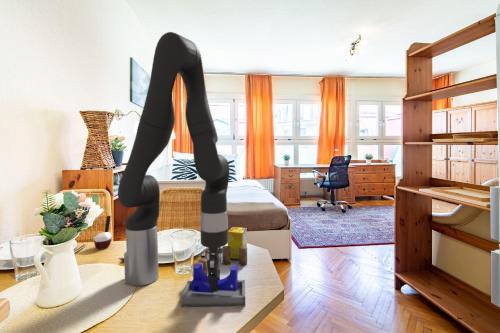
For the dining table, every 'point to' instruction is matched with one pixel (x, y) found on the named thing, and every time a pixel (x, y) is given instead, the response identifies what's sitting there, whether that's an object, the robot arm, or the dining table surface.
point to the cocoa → (103, 237)
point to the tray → (213, 297)
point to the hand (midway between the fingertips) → (215, 285)
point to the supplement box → (236, 241)
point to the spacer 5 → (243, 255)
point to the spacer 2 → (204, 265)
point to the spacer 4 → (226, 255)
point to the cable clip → (226, 284)
